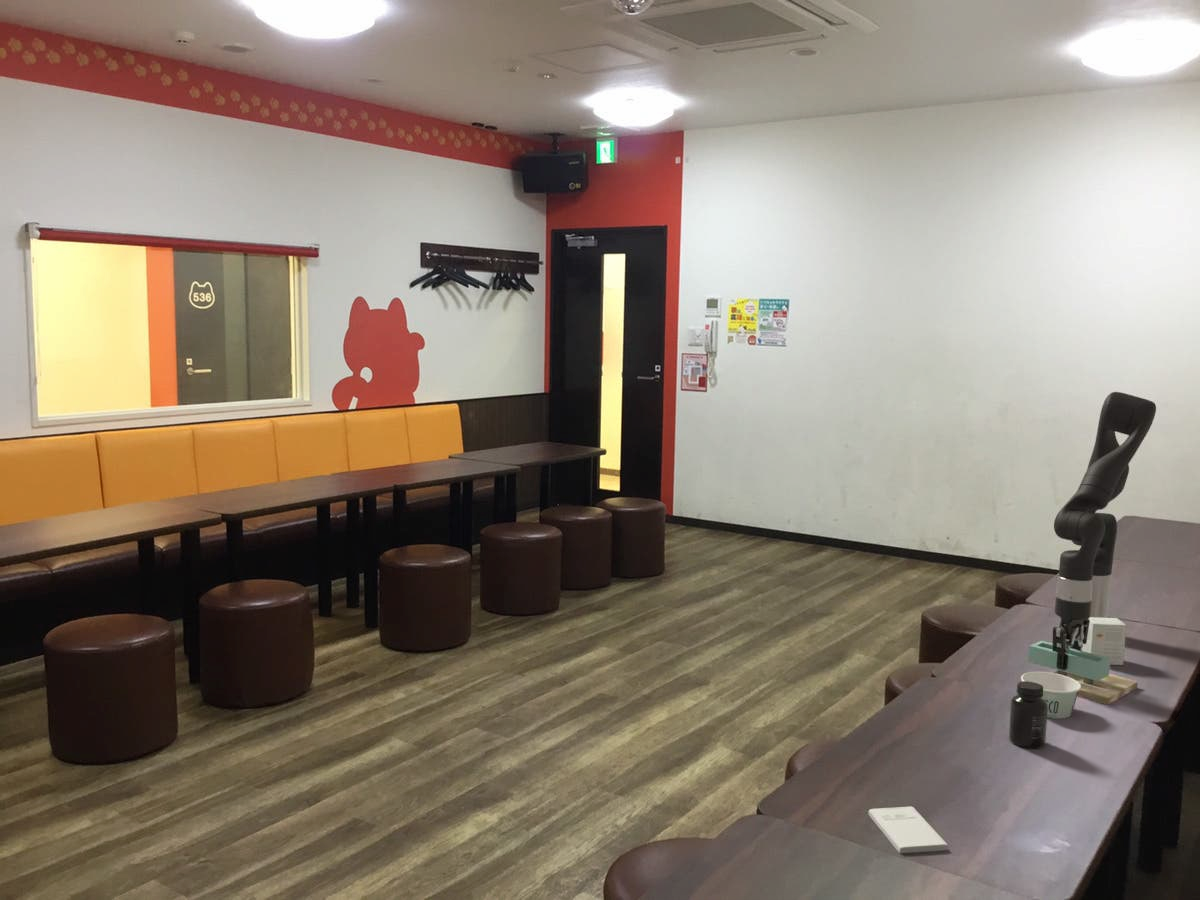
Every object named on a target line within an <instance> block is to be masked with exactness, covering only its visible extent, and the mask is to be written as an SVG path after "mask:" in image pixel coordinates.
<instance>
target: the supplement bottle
mask: <svg viewBox="0 0 1200 900" xmlns="http://www.w3.org/2000/svg"><path fill="white" fill-rule="evenodd" d="M1042 697H1043V686H1042V685H1040V684H1038V683H1035V682H1029V681H1022V680H1021V681H1019V682H1018V683H1017V685H1016V694H1015V695H1014V696H1012V698H1011V700H1010V710H1009V725H1008V727H1009V729H1008V739H1009V741H1010V742H1011V743H1012V744H1014V745H1015V746H1018V747H1021V748H1023V749H1033V750H1036V749H1040V748H1043V747H1044V746H1045V745H1046V742H1047V741H1046V740H1047V728H1048V727H1047V726H1048V725H1047V724H1048V723H1047V722H1048V717H1047V711H1048V705H1047V702H1046V701H1045V700H1044V699H1043V698H1042Z"/></svg>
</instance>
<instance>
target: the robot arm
mask: <svg viewBox="0 0 1200 900" xmlns="http://www.w3.org/2000/svg"><path fill="white" fill-rule="evenodd" d="M1156 412H1157V405H1156V403H1155V402H1153V401H1152V400H1149V399H1146V398H1143V397H1139V396H1135V395H1133V394H1129V393H1124V392H1120V391H1113V392H1112V391H1111V392H1110V393H1109V394H1108V395H1107V396H1106V398H1105V399H1104V402H1103V404H1102V406H1101V410H1100V414H1099V420H1098V426H1097V431H1096V437H1095V442H1094V446H1093V449H1092V453H1091V456H1090V458H1089V462H1088V465H1087V469H1086V472H1085V473H1084V475H1083V477H1082V480H1081V482H1080V484H1079V486H1078V489H1077V491H1076V492H1075V493H1074V494H1073V495H1072V496H1071V497H1070V498H1069V500H1068V501H1067V502H1066V503H1065V504H1064V505H1063V506H1062V508H1061V509H1060V510H1059V511H1058V512H1057V514H1056V516H1055V518H1054V521H1053V529H1054V533H1055V535H1056V536H1057V537H1058V538H1060V539H1063V540H1066V541H1071V543H1073V544H1074V545H1076V546H1080V548H1079V549H1074V550H1072V549H1070V550H1065V551H1062V553H1061V554H1060V558H1059V565H1058V566H1059V567H1058V569H1059V570H1058V577H1057V582H1056V590H1055V591H1056V592H1055V602H1054V603H1055V604H1054V614H1055V615H1056V616H1058V617H1059V618H1060V623H1059V625H1058V627H1056V626H1054V627H1053V629H1052V643H1053V651H1054V652H1057V668H1058V669H1062V670H1066V669H1067V665H1068V653H1069V650H1070V648H1072V649H1076V650H1080V651H1082V649H1083V644H1086V643H1087V636H1088V629H1089V622H1090V620H1089V618H1090V617H1098V618H1109V617H1108V616H1109V604H1110V595H1111V593H1110V592H1111V583H1112V571H1113V563H1114V555H1115V547H1116V546H1115V545H1116V540H1117V534H1118V521H1117V519H1116V517H1115V515H1114V514H1112V513H1108V512H1107V513H1105V512H1097V511H1100V510H1104V509H1105V508H1106V507H1107V506H1108V505H1109V504H1110V502H1112V501H1113V500H1115V499H1116V498H1117V497H1118V496H1119V495H1120V494H1121V493H1122V492H1123V490H1124V489H1125V487H1126V483H1127V479H1128V476H1129V472H1130V462H1131V460H1132V459H1133V458H1134V456H1135V455H1136V453H1137V452H1138V449H1139V448H1140V446H1141V444H1142V443H1143V441H1144V440H1145V438H1146V436H1147V434H1148V433H1149V431H1150V429H1151V427H1152V424H1153V422H1154V419H1155V416H1156ZM1116 433H1120V434H1122V435H1127V437H1126V439H1125V440H1124V442H1123V443H1121V444H1119V442H1118V439H1117V436H1116Z"/></svg>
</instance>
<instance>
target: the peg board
mask: <svg viewBox="0 0 1200 900" xmlns="http://www.w3.org/2000/svg"><path fill="white" fill-rule="evenodd" d="M1053 673H1056V674H1060V675H1064V676H1067V677H1070V678H1072V679H1074V680H1076V681H1077V682H1079V683H1080V684H1081V690H1079V691H1078V695H1077V697H1079V698H1080V697H1081V698H1084V699H1086V700H1087V699H1088V700H1089V701H1093V700H1094V702H1095V703H1096V702H1098V703H1100V704H1104V705H1106V706H1107V705H1110V704H1112V703H1113V702H1115V701H1117V700H1119V699H1121V698H1122V697H1124V696H1125V694H1126V695H1127V694H1129V693H1131V692H1133V691H1135V690H1136V689H1138V686H1139V685H1138V684H1139V681H1138V680H1133V679H1129V678H1127V677H1122V676H1118V675H1116V674H1112V673H1109V675H1108V676H1106V677H1105V678H1103V679H1101V680H1099V681H1095V680H1092V679H1088V678H1085V677H1081V676H1077V675H1074V674H1070V673H1067V672H1063V671H1059V670H1057V671H1055V672H1053ZM1132 690H1133V691H1132ZM1130 691H1131V692H1130Z"/></svg>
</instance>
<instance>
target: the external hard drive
mask: <svg viewBox="0 0 1200 900" xmlns="http://www.w3.org/2000/svg"><path fill="white" fill-rule="evenodd" d="M868 816H869V817H870V819H872V821H873V822H874V823H875V824H876V826H877V827H878V828H879V829H880V831H881V832H882V833H883V835H884V836H885V837H886V839H888V841H889V842H890V843H891V844H892V845H893V847H894V848H895V850H896V851H897V852H898V853H899V854H907V853H908V854H910V853H912V854H913V853H923V852H924V853H926V852H927V853H928V852H940V851H948V850H949V848H948V847H949V846H948V845H949V844H948V843H947V842H946V841H945V840H944V839H943V838H942V837H941V836H940V834H938V832H937V831H936V830H935V829H934V828H933V827H932V826H931V825H930V823H928V821H926V819H925V818H924V817H923V816H922V815H921V814H920V813H919V812H918V811H917V809H916V808H915V807H914V806H900V807H898V806H897V807H882V808H881V807H880V808H879V807H877V808H871V809H868Z"/></svg>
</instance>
